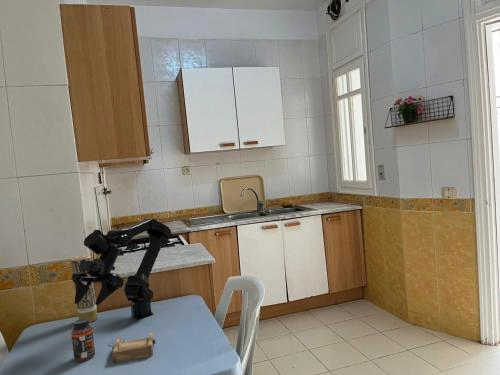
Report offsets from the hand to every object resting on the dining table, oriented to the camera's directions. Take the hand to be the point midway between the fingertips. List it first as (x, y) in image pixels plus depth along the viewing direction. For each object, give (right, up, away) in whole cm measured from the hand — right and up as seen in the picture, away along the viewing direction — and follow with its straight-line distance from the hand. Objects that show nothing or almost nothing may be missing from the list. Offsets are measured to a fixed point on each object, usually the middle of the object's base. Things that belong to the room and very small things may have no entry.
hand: (86, 304), depth 122 cm
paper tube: (-10, -14, +24) cm, 30 cm away
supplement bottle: (+3, -14, -8) cm, 16 cm away
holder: (+18, -12, -7) cm, 23 cm away
